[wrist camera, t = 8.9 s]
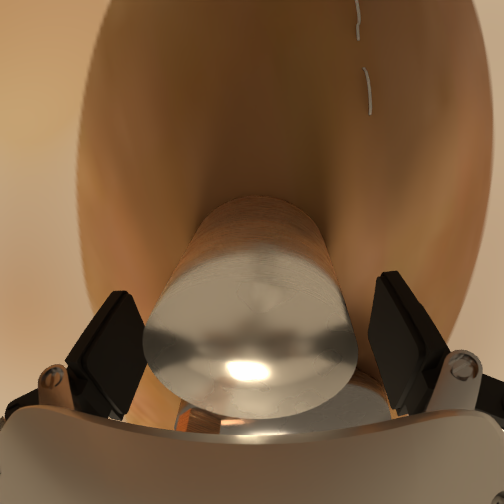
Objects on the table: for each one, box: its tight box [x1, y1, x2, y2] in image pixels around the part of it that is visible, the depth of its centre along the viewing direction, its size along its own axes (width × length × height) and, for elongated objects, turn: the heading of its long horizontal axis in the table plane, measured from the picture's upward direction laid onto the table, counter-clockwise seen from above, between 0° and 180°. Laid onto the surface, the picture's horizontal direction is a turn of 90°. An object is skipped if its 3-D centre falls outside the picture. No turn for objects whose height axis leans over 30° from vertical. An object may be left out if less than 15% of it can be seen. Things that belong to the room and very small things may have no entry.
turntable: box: [174, 369, 391, 435], centre depth 14 cm, size 15×15×7 cm
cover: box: [142, 196, 358, 419], centre depth 10 cm, size 6×6×6 cm
